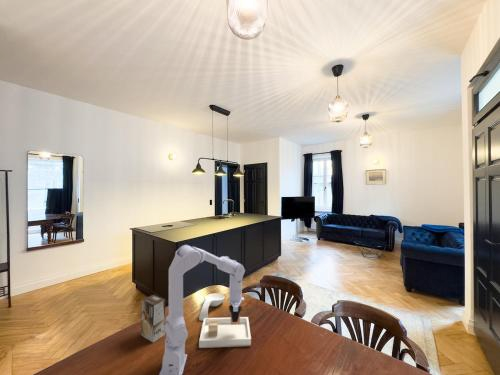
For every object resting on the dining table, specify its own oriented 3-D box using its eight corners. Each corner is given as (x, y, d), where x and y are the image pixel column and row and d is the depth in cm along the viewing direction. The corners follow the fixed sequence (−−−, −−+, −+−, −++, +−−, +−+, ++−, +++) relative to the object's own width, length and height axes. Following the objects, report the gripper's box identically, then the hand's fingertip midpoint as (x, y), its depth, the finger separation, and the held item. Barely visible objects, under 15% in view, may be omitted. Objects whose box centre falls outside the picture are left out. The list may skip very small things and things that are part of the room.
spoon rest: (208, 297, 133) (208, 286, 133) (226, 299, 131) (226, 287, 131) (192, 320, 109) (193, 306, 109) (214, 323, 108) (215, 308, 108)
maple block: (217, 336, 97) (217, 325, 97) (208, 336, 96) (208, 325, 96) (217, 330, 101) (217, 319, 101) (209, 330, 100) (209, 320, 100)
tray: (250, 346, 92) (251, 338, 92) (198, 347, 90) (199, 340, 90) (247, 322, 108) (248, 317, 108) (203, 324, 106) (204, 318, 106)
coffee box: (165, 334, 98) (166, 299, 98) (152, 343, 92) (154, 305, 92) (152, 327, 102) (153, 294, 103) (139, 335, 97) (141, 299, 97)
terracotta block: (239, 324, 97) (239, 313, 97) (230, 324, 96) (231, 313, 96) (239, 319, 101) (239, 308, 101) (230, 319, 100) (231, 308, 100)
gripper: (245, 296, 92) (244, 328, 92) (243, 282, 106) (242, 309, 106) (228, 296, 91) (227, 328, 91) (229, 282, 106) (228, 309, 106)
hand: (234, 318), depth 99 cm, fingers closed on terracotta block, 4 cm apart
